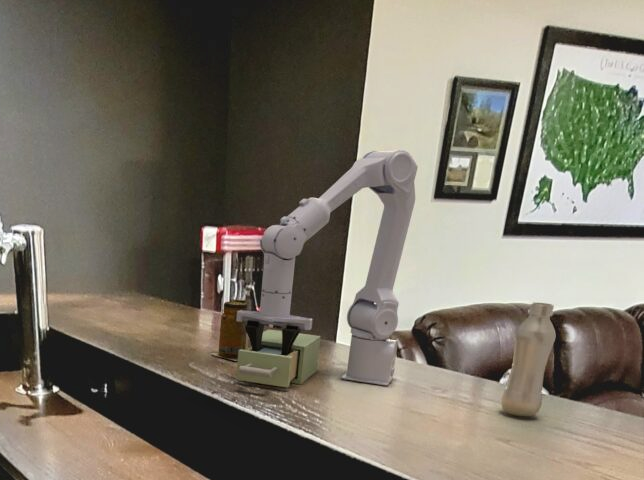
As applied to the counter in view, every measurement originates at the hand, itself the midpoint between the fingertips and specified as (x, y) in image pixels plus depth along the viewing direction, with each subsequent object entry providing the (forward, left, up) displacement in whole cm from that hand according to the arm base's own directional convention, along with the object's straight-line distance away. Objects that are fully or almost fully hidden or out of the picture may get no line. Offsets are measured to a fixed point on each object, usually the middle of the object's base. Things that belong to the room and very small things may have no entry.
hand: (270, 362), depth 141 cm
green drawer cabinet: (0, -10, -4) cm, 11 cm away
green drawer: (0, +1, -3) cm, 4 cm away
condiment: (+14, -19, -4) cm, 24 cm away
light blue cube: (0, 0, -2) cm, 2 cm away
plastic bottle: (-46, -5, -4) cm, 46 cm away
